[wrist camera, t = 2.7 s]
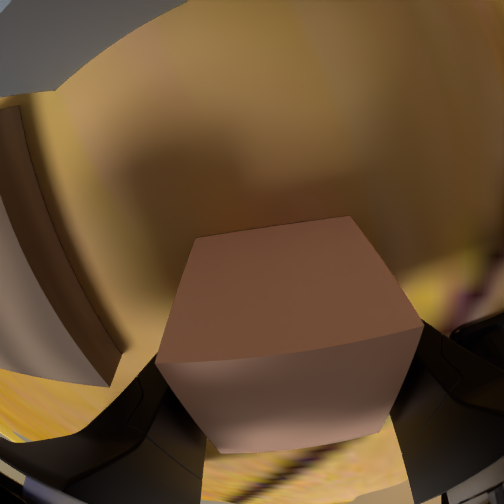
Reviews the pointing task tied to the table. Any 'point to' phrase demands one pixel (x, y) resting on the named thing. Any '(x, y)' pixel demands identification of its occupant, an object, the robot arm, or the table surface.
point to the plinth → (41, 282)
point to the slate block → (63, 37)
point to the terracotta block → (288, 337)
